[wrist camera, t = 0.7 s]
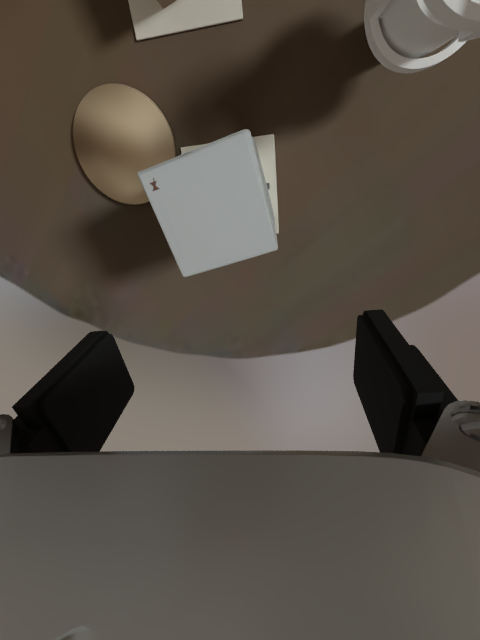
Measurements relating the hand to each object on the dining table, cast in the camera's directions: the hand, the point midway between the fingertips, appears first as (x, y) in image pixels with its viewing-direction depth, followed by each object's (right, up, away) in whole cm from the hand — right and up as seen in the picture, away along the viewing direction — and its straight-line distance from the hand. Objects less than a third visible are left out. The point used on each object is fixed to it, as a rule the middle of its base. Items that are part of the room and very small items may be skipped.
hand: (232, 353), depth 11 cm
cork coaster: (-11, +18, +17) cm, 27 cm away
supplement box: (0, +14, +18) cm, 23 cm away
